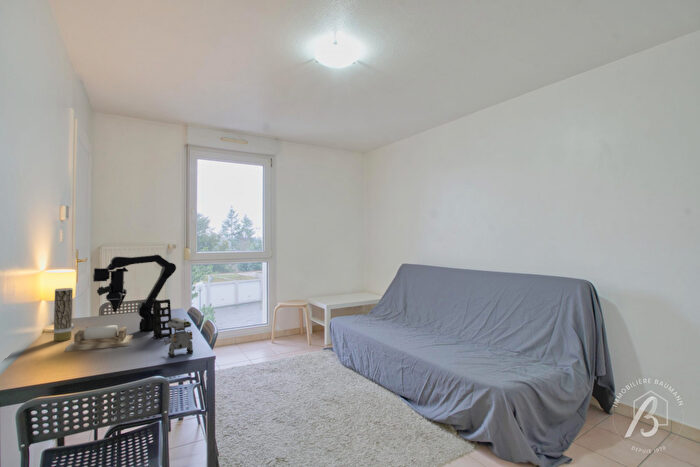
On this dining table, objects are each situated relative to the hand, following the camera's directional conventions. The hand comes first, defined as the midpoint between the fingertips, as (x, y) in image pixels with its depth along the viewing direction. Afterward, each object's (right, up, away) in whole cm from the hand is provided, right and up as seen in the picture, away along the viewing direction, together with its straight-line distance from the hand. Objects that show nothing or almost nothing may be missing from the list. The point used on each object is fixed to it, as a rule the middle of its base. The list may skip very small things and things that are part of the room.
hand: (116, 310), depth 186 cm
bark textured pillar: (-19, -12, -11) cm, 25 cm away
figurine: (+47, -13, -31) cm, 58 cm away
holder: (+26, -13, -5) cm, 30 cm away
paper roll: (+5, -10, -18) cm, 21 cm away
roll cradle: (+5, -12, -18) cm, 22 cm away
